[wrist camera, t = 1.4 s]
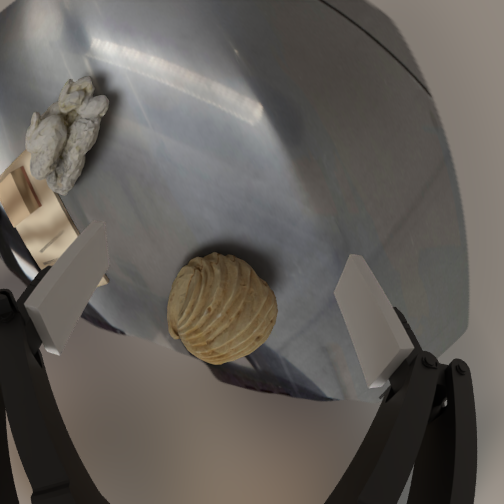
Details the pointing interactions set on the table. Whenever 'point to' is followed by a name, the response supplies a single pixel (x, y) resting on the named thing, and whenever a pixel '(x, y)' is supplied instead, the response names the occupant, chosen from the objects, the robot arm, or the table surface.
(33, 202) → the block
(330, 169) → the table surface
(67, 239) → the board
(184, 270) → the fossil
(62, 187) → the mineral
